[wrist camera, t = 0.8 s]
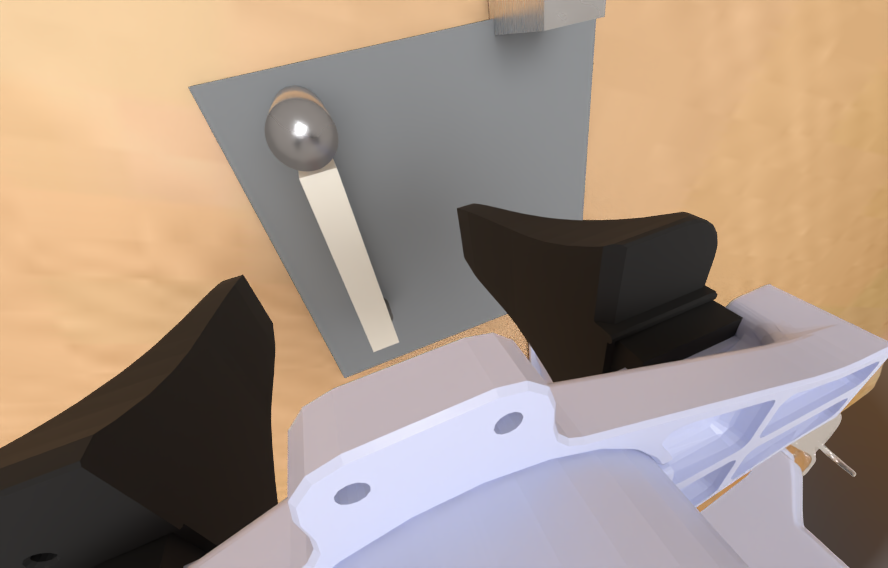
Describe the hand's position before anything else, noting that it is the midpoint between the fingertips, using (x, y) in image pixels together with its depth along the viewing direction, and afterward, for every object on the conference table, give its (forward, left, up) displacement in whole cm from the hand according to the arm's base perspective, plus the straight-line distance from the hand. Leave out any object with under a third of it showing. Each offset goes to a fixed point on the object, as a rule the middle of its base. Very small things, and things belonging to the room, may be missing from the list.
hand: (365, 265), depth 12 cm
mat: (-4, -6, -10) cm, 12 cm away
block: (-3, 0, -9) cm, 10 cm away
